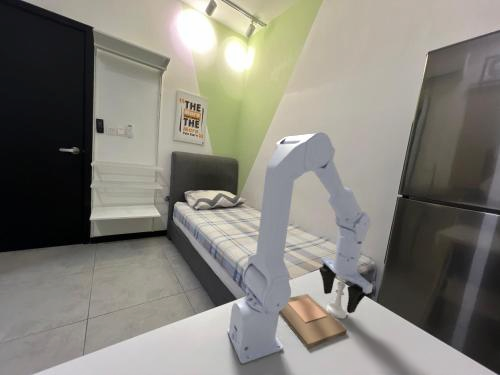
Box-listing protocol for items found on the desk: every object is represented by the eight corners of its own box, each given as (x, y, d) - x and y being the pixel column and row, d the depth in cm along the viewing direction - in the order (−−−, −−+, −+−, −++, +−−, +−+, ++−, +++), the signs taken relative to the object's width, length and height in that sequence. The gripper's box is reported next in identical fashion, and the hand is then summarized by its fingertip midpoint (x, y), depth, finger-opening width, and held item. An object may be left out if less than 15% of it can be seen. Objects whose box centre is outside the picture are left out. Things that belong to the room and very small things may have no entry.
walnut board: (307, 348, 42) (308, 343, 42) (272, 304, 54) (273, 300, 54) (346, 333, 47) (347, 329, 47) (306, 297, 59) (307, 293, 59)
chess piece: (344, 321, 51) (351, 284, 50) (324, 311, 54) (330, 276, 53) (348, 311, 55) (354, 277, 54) (329, 302, 58) (335, 270, 57)
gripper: (384, 265, 48) (373, 317, 49) (335, 242, 61) (328, 284, 62) (365, 269, 45) (354, 324, 46) (318, 243, 58) (310, 287, 59)
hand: (338, 301), depth 54 cm, fingers open, 7 cm apart
